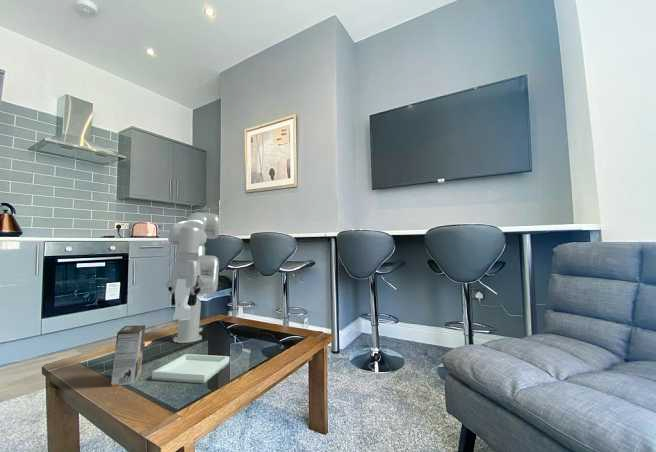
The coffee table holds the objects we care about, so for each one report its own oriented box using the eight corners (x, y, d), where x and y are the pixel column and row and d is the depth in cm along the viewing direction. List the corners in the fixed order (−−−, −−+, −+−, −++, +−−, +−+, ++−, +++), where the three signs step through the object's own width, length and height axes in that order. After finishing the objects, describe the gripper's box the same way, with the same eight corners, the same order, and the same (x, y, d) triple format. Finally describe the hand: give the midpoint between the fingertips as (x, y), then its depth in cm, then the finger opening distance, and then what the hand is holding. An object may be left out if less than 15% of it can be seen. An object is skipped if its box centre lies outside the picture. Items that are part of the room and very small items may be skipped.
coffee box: (118, 375, 92) (124, 325, 94) (141, 373, 95) (146, 324, 97) (109, 387, 84) (116, 332, 86) (134, 383, 86) (140, 330, 88)
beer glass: (183, 321, 100) (187, 279, 102) (167, 319, 101) (171, 278, 103) (196, 317, 106) (199, 278, 109) (181, 316, 108) (184, 278, 110)
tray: (185, 360, 107) (185, 353, 108) (229, 363, 105) (229, 356, 106) (151, 379, 89) (152, 371, 90) (204, 383, 88) (204, 375, 88)
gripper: (160, 257, 105) (155, 305, 102) (203, 258, 103) (199, 307, 100) (173, 258, 112) (169, 303, 109) (213, 258, 110) (210, 304, 107)
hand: (183, 304), depth 105 cm, fingers closed on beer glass, 6 cm apart
